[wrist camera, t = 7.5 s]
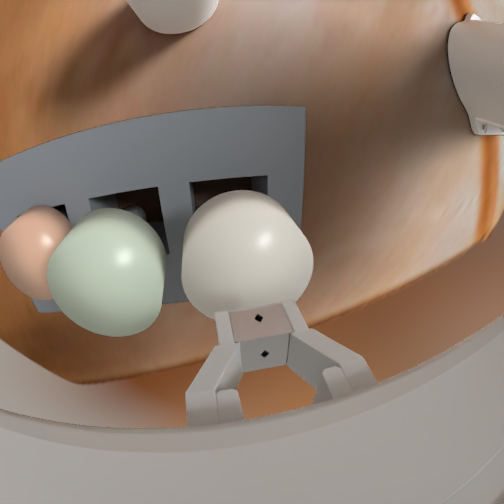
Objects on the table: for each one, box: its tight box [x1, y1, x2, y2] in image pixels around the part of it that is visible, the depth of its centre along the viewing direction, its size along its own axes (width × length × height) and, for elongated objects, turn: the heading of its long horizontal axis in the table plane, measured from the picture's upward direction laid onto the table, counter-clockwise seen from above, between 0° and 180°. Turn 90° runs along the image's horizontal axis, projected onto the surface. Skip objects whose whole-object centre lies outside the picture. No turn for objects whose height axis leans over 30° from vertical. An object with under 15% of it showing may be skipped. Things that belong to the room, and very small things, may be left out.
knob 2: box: [181, 190, 313, 320], centre depth 16 cm, size 6×6×8 cm
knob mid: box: [47, 205, 166, 337], centre depth 15 cm, size 6×6×8 cm
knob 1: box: [0, 205, 73, 300], centre depth 17 cm, size 6×6×8 cm
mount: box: [0, 105, 306, 313], centre depth 19 cm, size 24×14×6 cm, turn 91°
